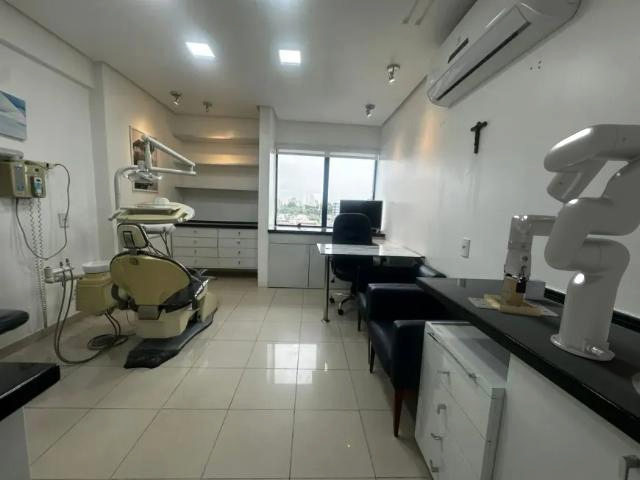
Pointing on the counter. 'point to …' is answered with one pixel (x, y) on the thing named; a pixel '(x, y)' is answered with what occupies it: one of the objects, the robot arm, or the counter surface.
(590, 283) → the robot arm
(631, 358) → the counter surface
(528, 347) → the counter surface
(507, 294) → the skincare box
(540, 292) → the medicine box
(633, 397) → the counter surface
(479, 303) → the wooden flat frame
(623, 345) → the counter surface
